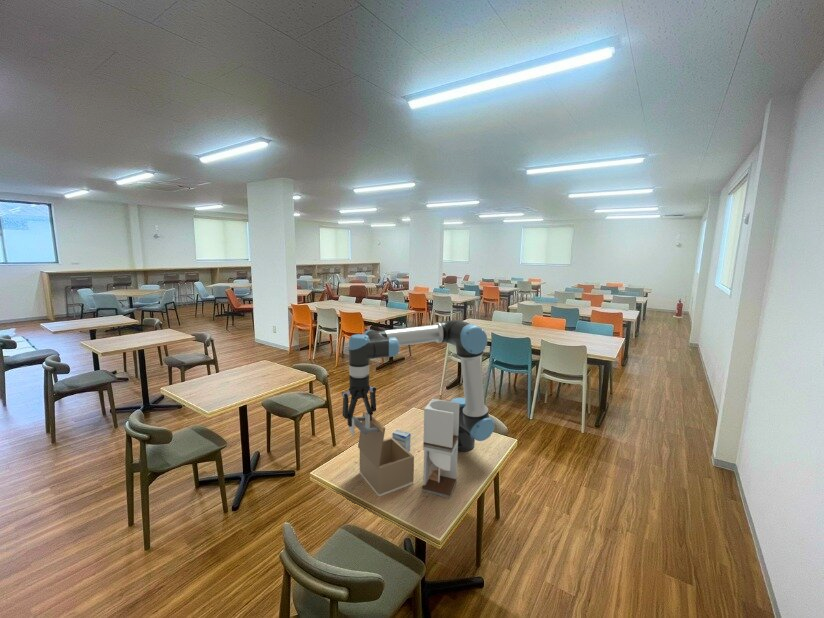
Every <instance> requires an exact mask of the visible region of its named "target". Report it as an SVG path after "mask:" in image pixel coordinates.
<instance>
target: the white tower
mask: <svg viewBox="0 0 824 618" xmlns="http://www.w3.org/2000/svg"><path fill="white" fill-rule="evenodd" d="M459 404H460V403H458V402H452V401H451V400H446V399H445V400H444V399H438V398H431V400H430V401H429V402H428V403H427V404H426V406H424V408H423V410H424V411H423V441H422V442H423V443H422V444H423V446H422V447H423V448H422V450H423V475H422V476H423V479H422V480H423V482H422V483H423V484H422V487H421V489H422V490H421V492H424V493H428V494H431V495H435V496H439V497H442V498H446V499H451V498H452V494H453V492H454V490H455V487H456V485H457V476H458V453H459V451H458V429H459ZM455 484H456V485H455ZM453 489H454V490H453Z"/></svg>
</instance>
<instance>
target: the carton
mask: <svg viewBox="0 0 824 618" xmlns="http://www.w3.org/2000/svg"><path fill="white" fill-rule="evenodd" d="M414 465H415V456H414V455H413V454H411V452H410V451H407V450H406V449H405V448H404V447H403V446H401V445H400V444H399V443H398V442H397V441H396V440H395V439H394V438H392V437H388V438H386V439H385V438H384V440H383V446H382V453H381V459H380V466H379V468H378V469H377V468H376V467H375V466H374V464H373V463H372V462H371V461H370V460H369V459H368V458H367V457H366V456H365V454H364V453H363V452H362V451H361V450H360V449H359V474H360V476H361V477H362V478H363V480H365V481H366V482H367V484H368V485H369V486H370V488H371V489H372V490H373V491H374V493H375V494H376V495H377V497H378V498H379V497H383V496H384V495H385V496H386V495H388V494H390V493H393V492H395V491H398V490H401V489H403V488H406V487H407V486H411V485H414V479H415V477H414V476H415V475H414V473H415V471H414V470H415V466H414Z"/></svg>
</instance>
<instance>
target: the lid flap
mask: <svg viewBox="0 0 824 618" xmlns="http://www.w3.org/2000/svg"><path fill="white" fill-rule="evenodd" d="M366 412H367V410H363V411H362V416H354V415H353V418H354V427H356V428H357V429H358V430H359V438H358V445H357V448H358V449H359V451H360V450H361V451H362V452H363V453H364V454H365V456H366V457H367V458H368V459H369V460H370V461H371V462H372V463H373V464H374V466H375V467H376V468H377V469H378V468H379V466H380V459H381V453H382V446H383V440H385V433H386V427H385V426H384V425H382V424H381V423H380V422H379V421H378V420H377V419H376V418H374V417H373V416H372V421H370V428H366V427H365V413H366Z"/></svg>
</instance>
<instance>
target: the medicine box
mask: <svg viewBox="0 0 824 618" xmlns="http://www.w3.org/2000/svg"><path fill="white" fill-rule="evenodd" d="M411 434H412V433H411V432H410V433H409V432H407V431H403V430H399V429H396V430H394V431H393V432H392V437H391V438H394V439H395V440H396V441H397V442H398V443H399V444H400V445H401V446H403V447H404V448H405V449H406V450H407V451H408V452H410V451H411V437H412V435H411Z"/></svg>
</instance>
